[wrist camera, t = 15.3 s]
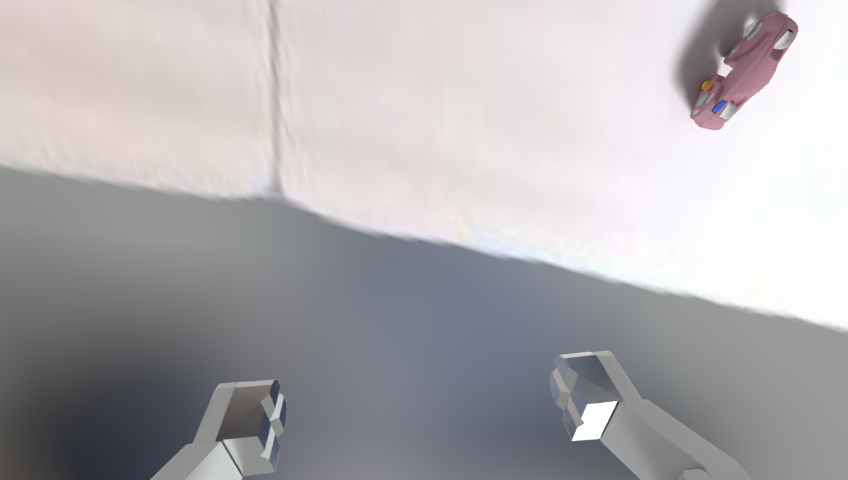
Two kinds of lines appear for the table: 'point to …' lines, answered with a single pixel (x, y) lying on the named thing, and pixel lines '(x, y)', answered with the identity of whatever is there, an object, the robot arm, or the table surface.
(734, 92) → the video game controller
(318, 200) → the table surface
